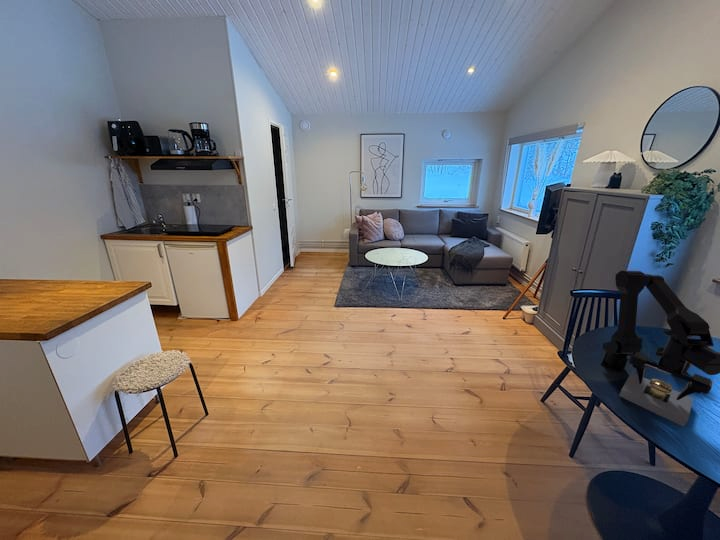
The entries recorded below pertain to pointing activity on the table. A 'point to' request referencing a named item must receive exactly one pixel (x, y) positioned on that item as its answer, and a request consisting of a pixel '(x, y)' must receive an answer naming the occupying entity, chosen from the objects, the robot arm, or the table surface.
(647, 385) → the flange socket
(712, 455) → the table surface
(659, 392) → the brass fitting
